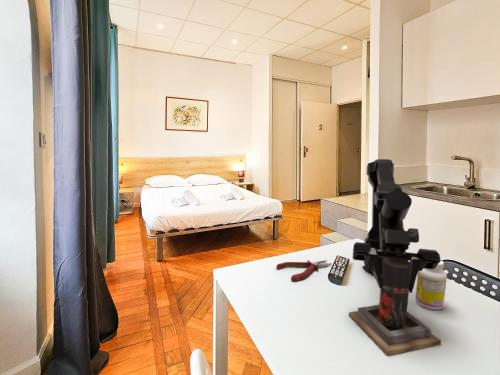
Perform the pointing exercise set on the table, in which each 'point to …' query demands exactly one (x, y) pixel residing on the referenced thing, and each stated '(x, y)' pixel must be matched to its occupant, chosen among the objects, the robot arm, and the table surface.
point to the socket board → (394, 332)
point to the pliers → (308, 265)
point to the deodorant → (394, 291)
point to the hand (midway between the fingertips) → (395, 290)
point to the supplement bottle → (431, 287)
